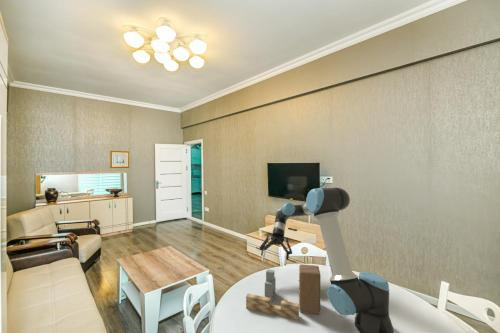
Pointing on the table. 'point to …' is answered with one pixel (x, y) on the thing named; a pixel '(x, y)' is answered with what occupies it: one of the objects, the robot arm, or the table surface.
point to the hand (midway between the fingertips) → (273, 263)
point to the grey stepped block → (270, 284)
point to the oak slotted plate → (272, 306)
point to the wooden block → (309, 289)
